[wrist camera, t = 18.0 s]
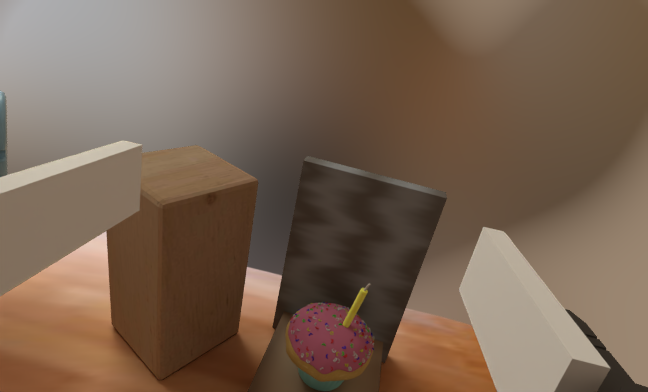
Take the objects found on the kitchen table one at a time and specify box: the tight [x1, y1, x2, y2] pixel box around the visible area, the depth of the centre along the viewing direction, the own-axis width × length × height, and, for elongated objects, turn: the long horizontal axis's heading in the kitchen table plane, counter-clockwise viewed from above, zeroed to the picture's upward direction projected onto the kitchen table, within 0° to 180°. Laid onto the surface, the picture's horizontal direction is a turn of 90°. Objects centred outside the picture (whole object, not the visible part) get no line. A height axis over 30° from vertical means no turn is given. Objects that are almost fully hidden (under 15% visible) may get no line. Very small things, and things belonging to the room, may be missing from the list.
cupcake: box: [285, 284, 375, 391], centre depth 36 cm, size 9×8×12 cm
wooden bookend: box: [248, 156, 447, 392], centre depth 35 cm, size 14×16×22 cm
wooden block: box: [107, 145, 258, 380], centre depth 39 cm, size 10×10×20 cm
